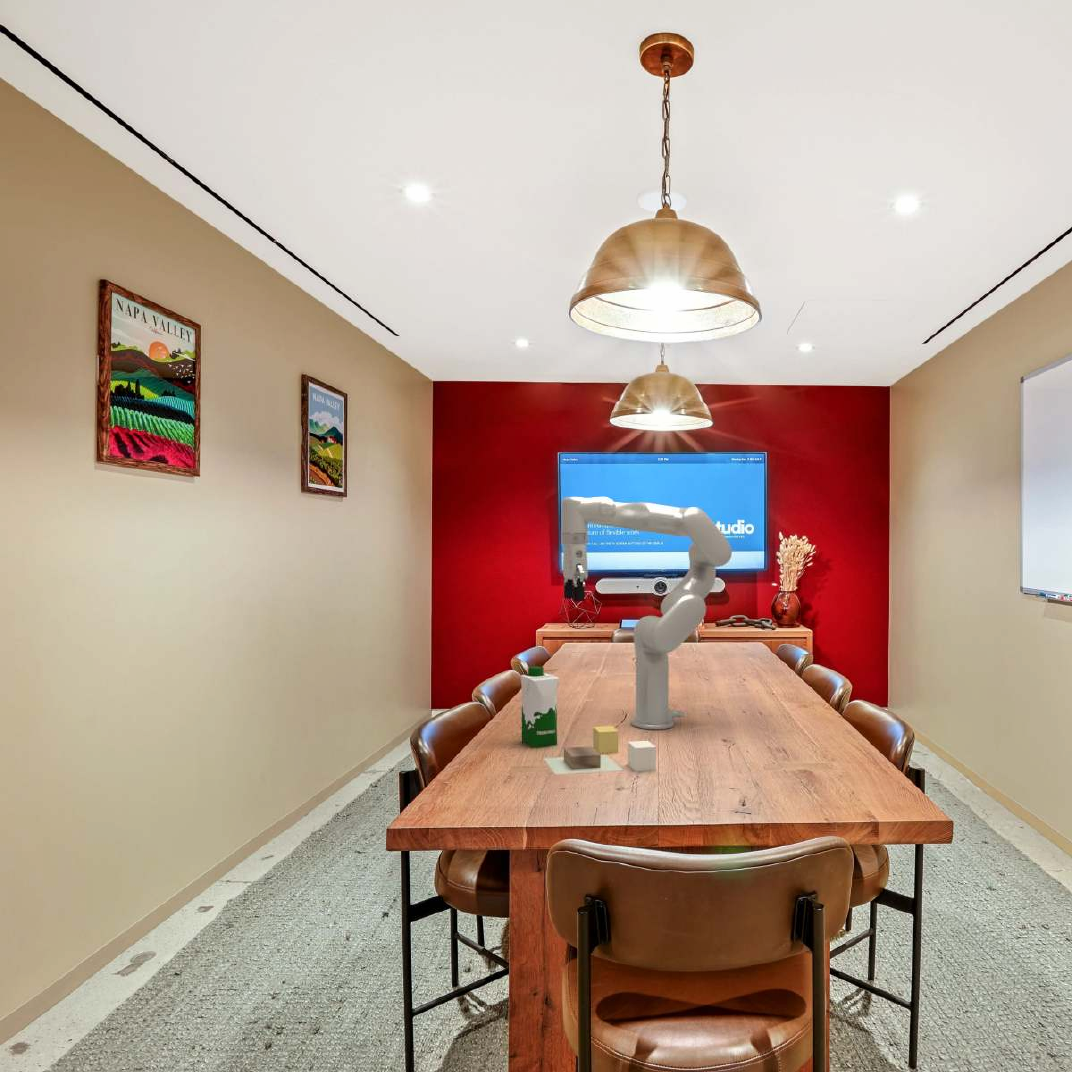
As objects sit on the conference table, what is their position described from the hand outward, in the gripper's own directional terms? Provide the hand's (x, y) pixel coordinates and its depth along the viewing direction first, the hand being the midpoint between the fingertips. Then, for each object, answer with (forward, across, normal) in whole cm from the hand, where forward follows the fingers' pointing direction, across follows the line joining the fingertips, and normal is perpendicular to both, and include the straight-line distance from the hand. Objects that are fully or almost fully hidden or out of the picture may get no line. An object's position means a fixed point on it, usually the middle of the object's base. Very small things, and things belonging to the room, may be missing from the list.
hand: (574, 599), depth 197 cm
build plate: (+37, -33, +7) cm, 50 cm away
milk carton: (+37, -14, +13) cm, 42 cm away
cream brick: (+37, -38, -6) cm, 53 cm away
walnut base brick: (+36, -33, +7) cm, 49 cm away
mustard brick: (+37, -24, -2) cm, 44 cm away
